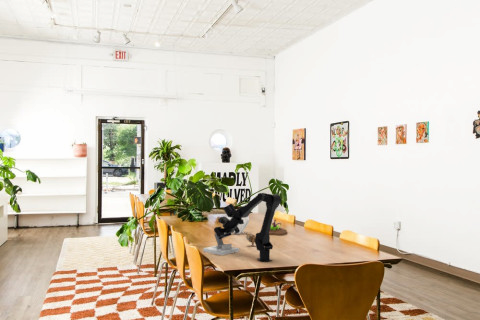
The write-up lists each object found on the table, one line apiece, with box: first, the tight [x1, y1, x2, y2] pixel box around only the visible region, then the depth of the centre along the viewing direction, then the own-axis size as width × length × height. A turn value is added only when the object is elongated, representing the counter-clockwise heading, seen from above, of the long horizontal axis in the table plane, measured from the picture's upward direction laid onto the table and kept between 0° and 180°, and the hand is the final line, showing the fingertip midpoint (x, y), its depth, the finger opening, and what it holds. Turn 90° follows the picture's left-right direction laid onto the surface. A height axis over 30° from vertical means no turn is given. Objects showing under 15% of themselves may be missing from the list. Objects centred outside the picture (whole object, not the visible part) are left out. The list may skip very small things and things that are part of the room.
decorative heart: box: [226, 215, 250, 235], centre depth 342 cm, size 18×11×17 cm, turn 106°
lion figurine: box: [245, 232, 265, 248], centre depth 297 cm, size 15×5×9 cm, turn 91°
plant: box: [269, 218, 288, 237], centre depth 350 cm, size 20×20×11 cm
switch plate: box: [202, 243, 240, 256], centre depth 279 cm, size 16×16×5 cm
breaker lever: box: [213, 230, 225, 248], centre depth 280 cm, size 2×5×12 cm, turn 140°
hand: (219, 238), depth 280 cm, fingers closed, pressing on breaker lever
